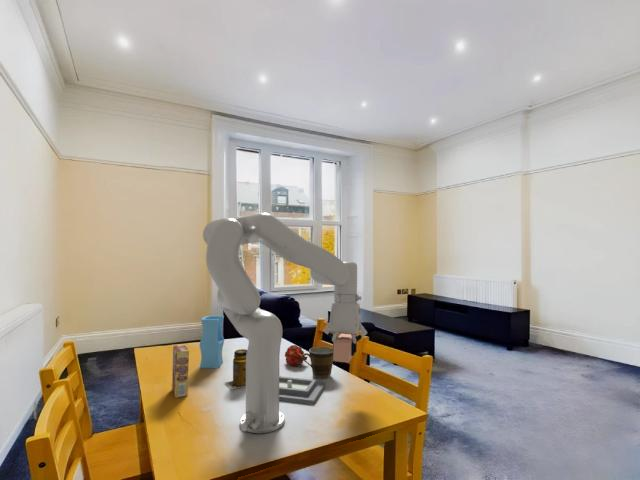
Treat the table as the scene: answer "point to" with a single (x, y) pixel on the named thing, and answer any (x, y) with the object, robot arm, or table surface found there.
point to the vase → (211, 342)
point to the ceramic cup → (321, 361)
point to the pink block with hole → (342, 348)
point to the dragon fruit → (294, 355)
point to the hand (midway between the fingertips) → (344, 353)
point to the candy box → (180, 371)
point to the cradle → (300, 389)
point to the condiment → (238, 370)
